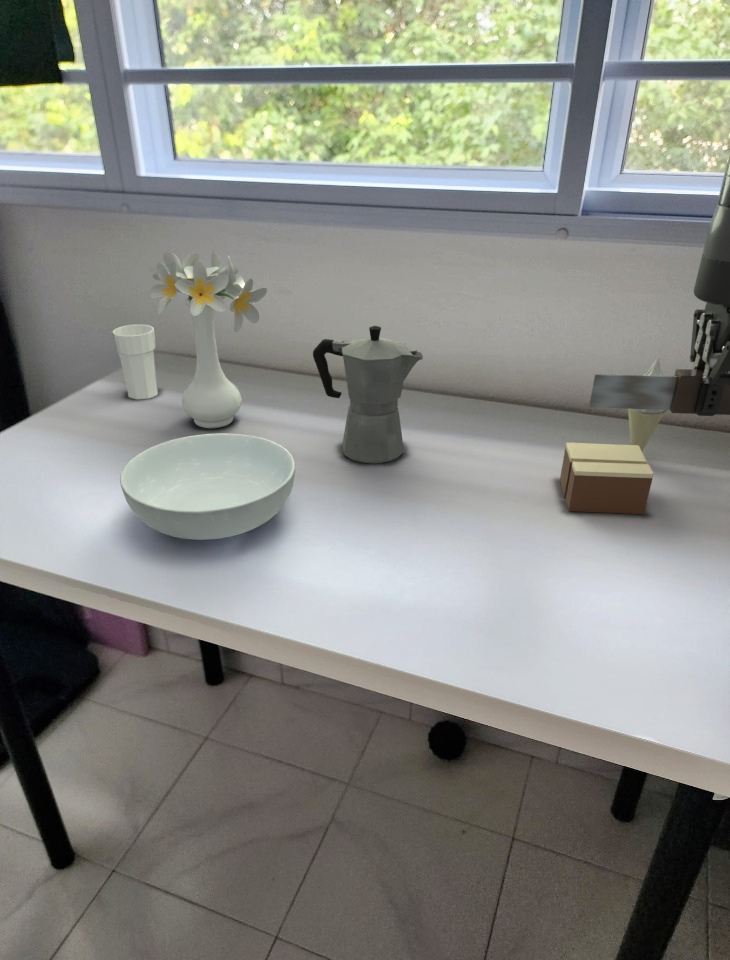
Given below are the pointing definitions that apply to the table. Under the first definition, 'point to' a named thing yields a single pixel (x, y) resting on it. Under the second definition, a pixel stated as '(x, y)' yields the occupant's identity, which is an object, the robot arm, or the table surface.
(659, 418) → the ice cream cone
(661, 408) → the knife
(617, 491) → the cake slice
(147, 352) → the cup
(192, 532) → the serving bowl
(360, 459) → the coffeepot
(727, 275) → the robot arm
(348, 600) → the table surface
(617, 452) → the cake
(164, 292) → the flower vase
